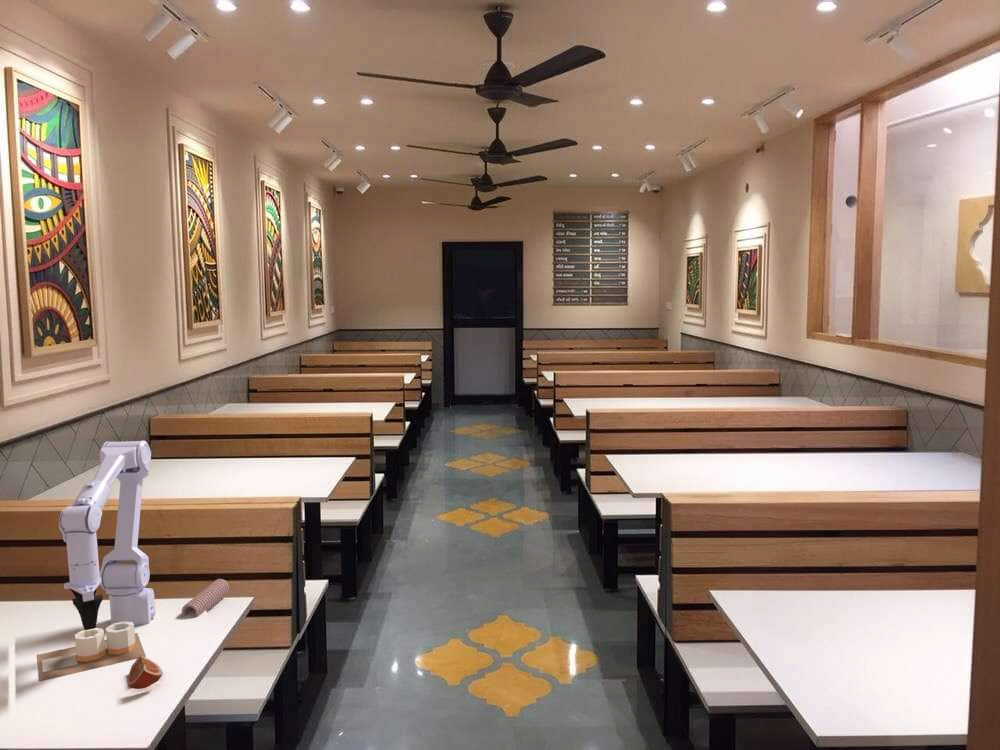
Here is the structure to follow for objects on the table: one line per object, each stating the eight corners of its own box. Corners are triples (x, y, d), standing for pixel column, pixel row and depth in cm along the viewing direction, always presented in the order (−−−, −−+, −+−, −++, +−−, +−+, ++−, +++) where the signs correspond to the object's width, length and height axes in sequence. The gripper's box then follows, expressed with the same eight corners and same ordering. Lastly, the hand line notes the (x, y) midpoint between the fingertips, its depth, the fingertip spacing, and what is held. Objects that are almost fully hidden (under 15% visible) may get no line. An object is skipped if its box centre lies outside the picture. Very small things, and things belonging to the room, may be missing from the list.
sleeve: (76, 654, 176) (74, 631, 175) (104, 647, 179) (102, 626, 178) (77, 663, 171) (75, 641, 171) (106, 657, 174) (104, 635, 174)
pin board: (137, 639, 186) (136, 616, 186) (146, 663, 174) (144, 639, 174) (37, 661, 176) (35, 637, 176) (39, 688, 164) (37, 663, 164)
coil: (198, 606, 194) (231, 578, 212) (179, 603, 195) (214, 576, 212) (197, 624, 195) (230, 596, 212) (179, 622, 195) (213, 593, 213)
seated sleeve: (106, 647, 179) (105, 625, 178) (133, 641, 182) (132, 619, 181) (109, 656, 174) (107, 634, 174) (136, 650, 177) (135, 628, 177)
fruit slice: (126, 680, 167) (124, 657, 166) (161, 672, 170) (159, 649, 169) (128, 698, 160) (126, 674, 159) (165, 690, 163) (163, 666, 162)
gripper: (60, 554, 177) (65, 614, 178) (64, 575, 164) (69, 639, 166) (96, 548, 180) (101, 607, 182) (102, 568, 168) (107, 631, 170)
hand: (88, 622), depth 174 cm, fingers open, 7 cm apart
